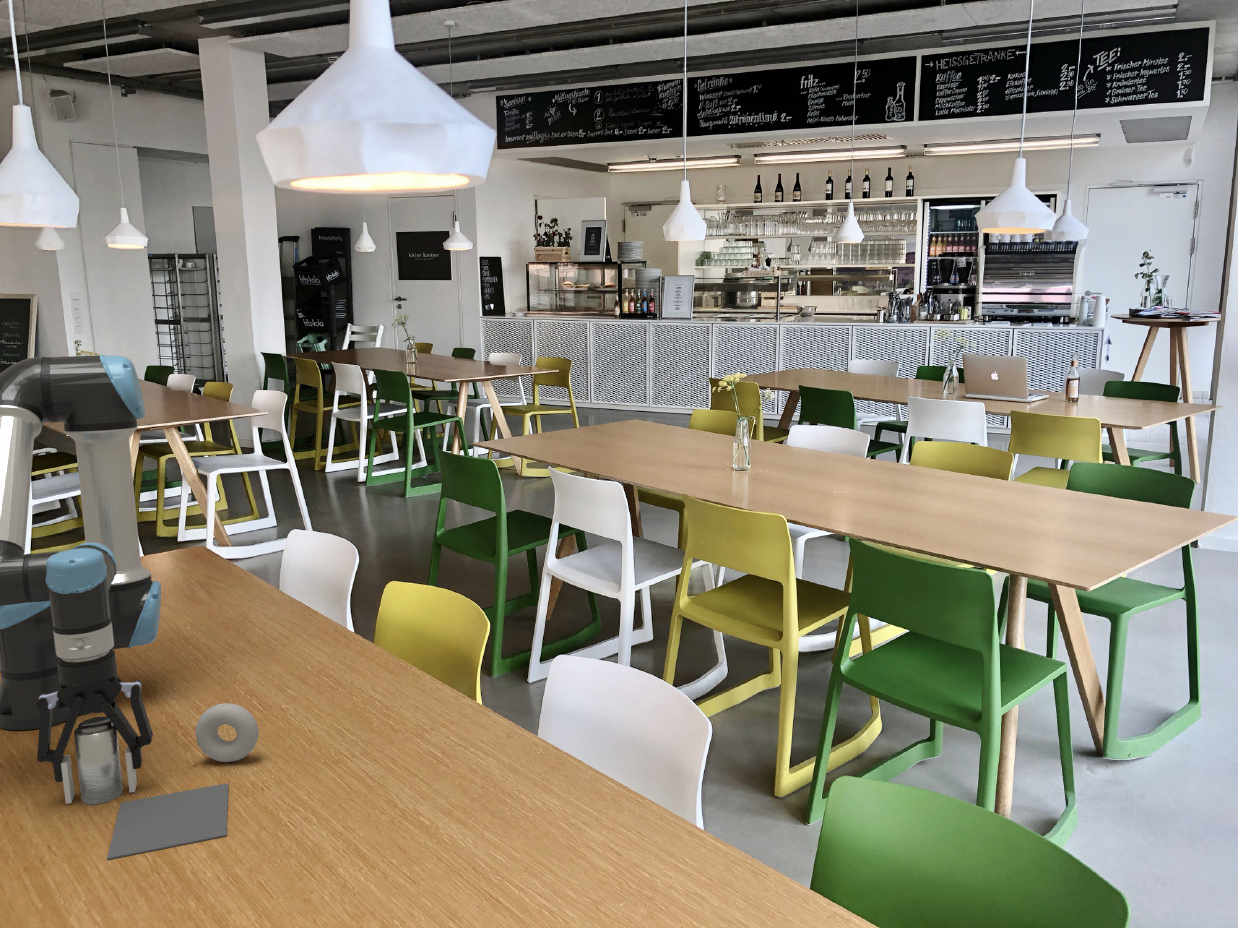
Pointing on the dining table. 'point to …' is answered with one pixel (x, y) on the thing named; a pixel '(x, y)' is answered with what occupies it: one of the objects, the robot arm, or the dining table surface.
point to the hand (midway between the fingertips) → (102, 792)
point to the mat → (170, 821)
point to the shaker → (98, 760)
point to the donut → (220, 747)
